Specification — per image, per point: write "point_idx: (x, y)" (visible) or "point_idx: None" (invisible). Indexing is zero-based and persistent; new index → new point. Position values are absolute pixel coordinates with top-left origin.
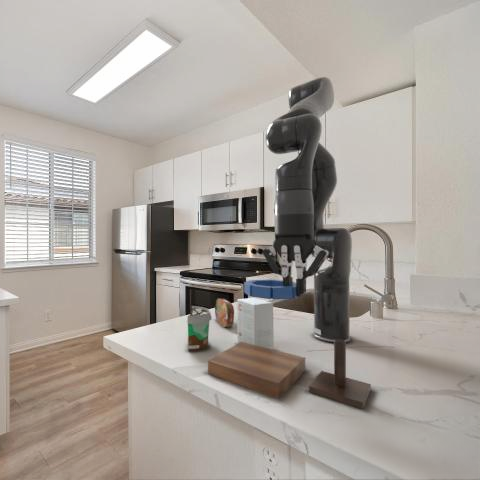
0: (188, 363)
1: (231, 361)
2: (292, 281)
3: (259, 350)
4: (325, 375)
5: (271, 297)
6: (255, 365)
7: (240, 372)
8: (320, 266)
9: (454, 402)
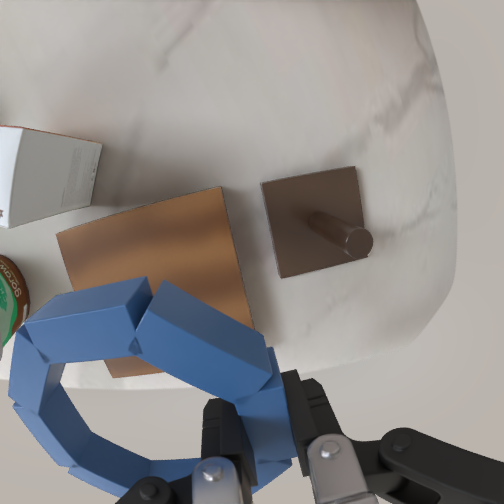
0: None
1: None
2: (242, 430)
3: (118, 246)
4: (279, 201)
5: None
6: None
7: None
8: (467, 453)
9: (433, 113)
